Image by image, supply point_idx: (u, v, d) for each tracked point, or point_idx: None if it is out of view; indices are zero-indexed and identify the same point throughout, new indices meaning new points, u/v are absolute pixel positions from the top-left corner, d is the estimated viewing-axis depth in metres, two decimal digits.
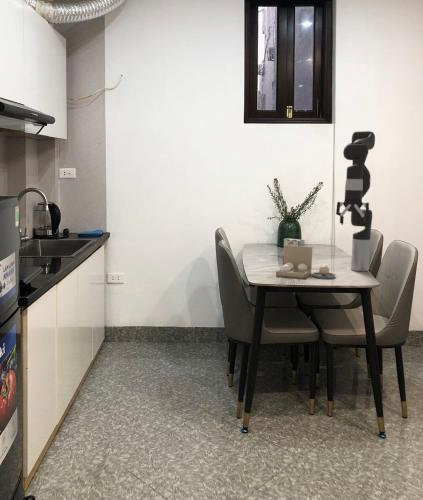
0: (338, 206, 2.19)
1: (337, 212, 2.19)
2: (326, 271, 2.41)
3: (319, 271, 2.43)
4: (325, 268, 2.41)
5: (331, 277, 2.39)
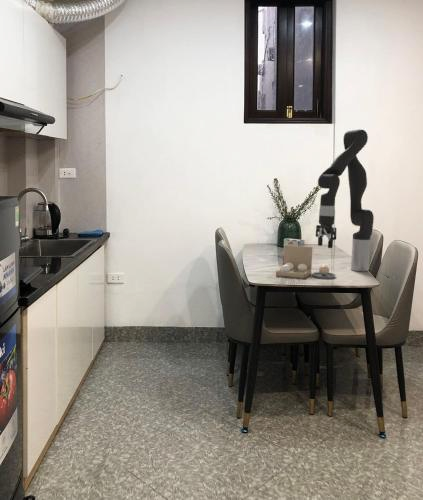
0: None
1: None
2: (326, 271, 2.41)
3: (319, 271, 2.43)
4: (325, 268, 2.41)
5: (331, 277, 2.39)
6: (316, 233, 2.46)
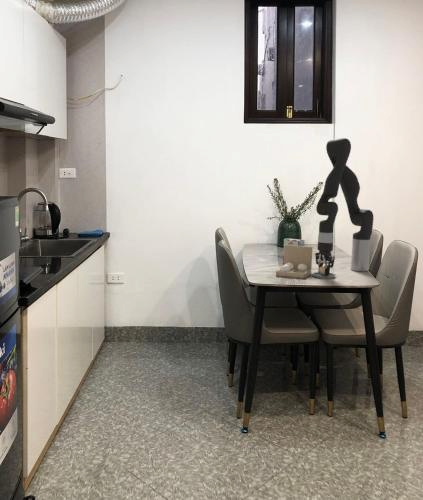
0: None
1: None
2: None
3: (319, 271, 2.43)
4: None
5: (331, 277, 2.39)
6: (316, 261, 2.47)
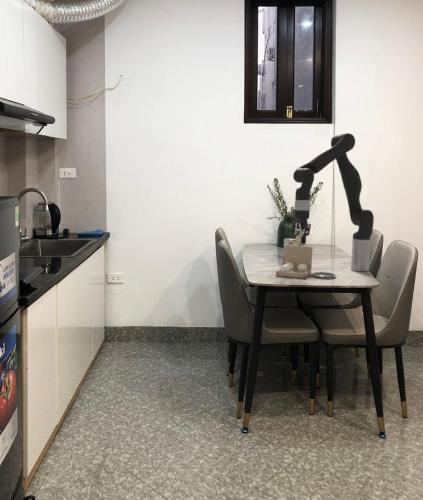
0: None
1: None
2: None
3: None
4: None
5: (331, 277, 2.39)
6: (293, 230, 2.44)
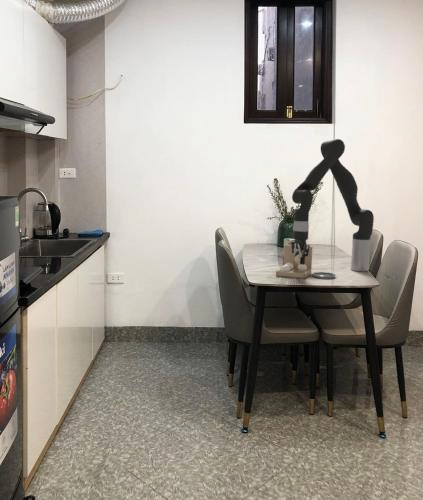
0: None
1: None
2: None
3: None
4: None
5: (331, 277, 2.39)
6: (292, 250, 2.46)
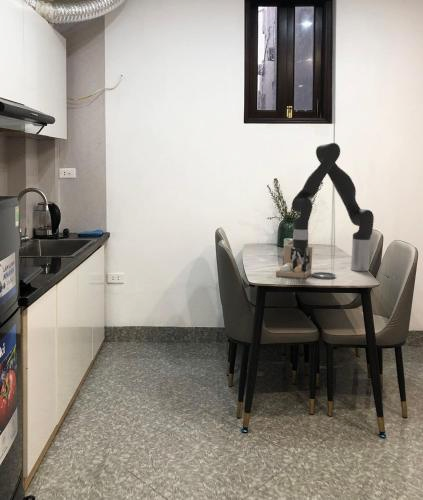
0: None
1: None
2: (301, 271, 2.40)
3: (294, 271, 2.42)
4: (299, 268, 2.41)
5: (331, 277, 2.39)
6: (291, 256, 2.47)
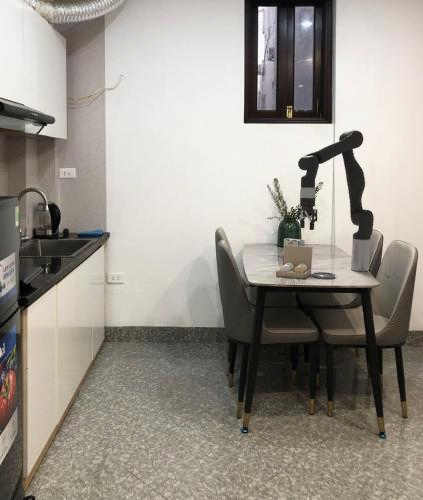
0: None
1: None
2: (301, 271, 2.40)
3: (294, 271, 2.42)
4: (299, 268, 2.41)
5: (331, 277, 2.39)
6: (298, 216, 2.46)
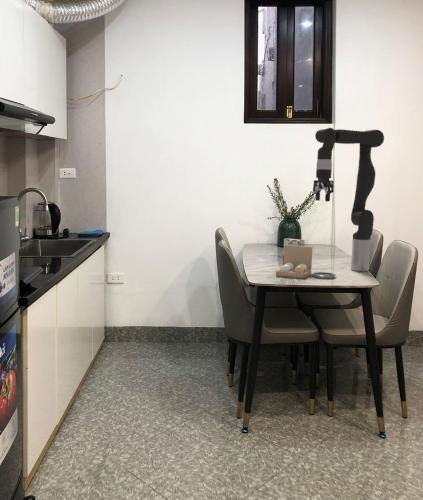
0: None
1: None
2: (301, 271, 2.40)
3: (294, 271, 2.42)
4: (300, 268, 2.40)
5: (331, 277, 2.39)
6: (313, 188, 2.49)
